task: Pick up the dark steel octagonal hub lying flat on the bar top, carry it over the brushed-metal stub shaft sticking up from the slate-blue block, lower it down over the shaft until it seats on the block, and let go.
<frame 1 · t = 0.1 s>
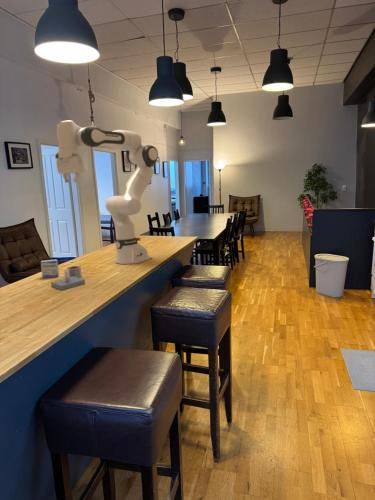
hand: (71, 182, 178), 48 cm above the table, tool pointing down, fingers open, 8 cm apart
shaft block: (68, 284, 167), on the table
medicine box: (51, 276, 184), on the table
hub: (74, 277, 180), on the table
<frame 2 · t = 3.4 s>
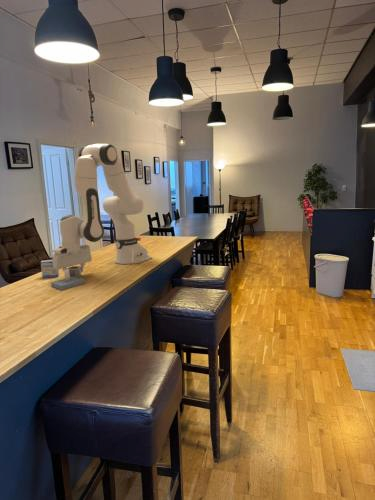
hand: (74, 273, 180), 2 cm above the table, tool pointing down, fingers closed on hub, 6 cm apart
hub: (74, 277, 180), on the table, touching gripper
everything else where it was.
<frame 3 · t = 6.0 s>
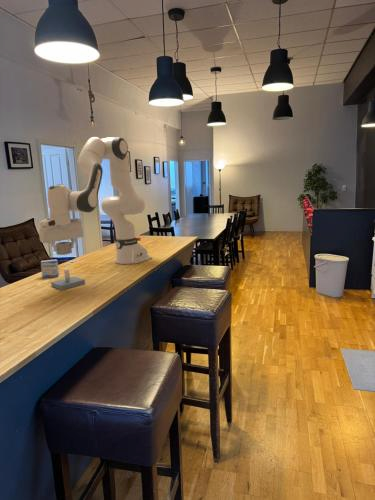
hand: (63, 249, 164), 17 cm above the table, tool pointing down, fingers closed on hub, 6 cm apart
hub: (64, 253, 164), point 16 cm above the table, touching gripper
everything else where it was.
when the fingers open (5 cm above the table, at t = 8.5 s): hub drops 1 cm, resting on shaft block.
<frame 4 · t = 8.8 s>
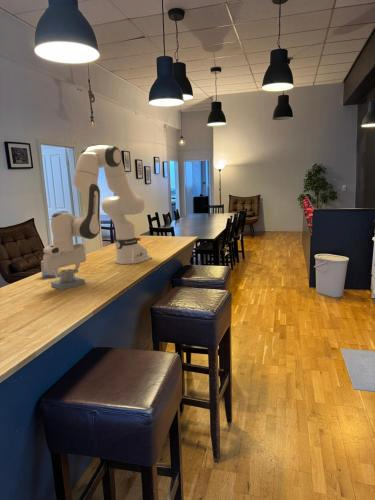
hand: (67, 274, 166), 5 cm above the table, tool pointing down, fingers open, 8 cm apart
hub: (67, 280, 167), point 2 cm above the table, touching shaft block
everything else where it was.
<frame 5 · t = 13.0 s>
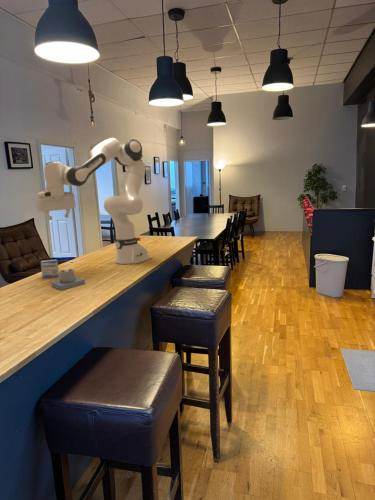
hand: (58, 218, 187), 29 cm above the table, tool pointing down, fingers open, 8 cm apart
nothing on the table moved.
at the end: hub 0.1 cm off-centre on the shaft block, point 2.0 cm above the shaft block's base; hub tilted 0°; the gripper is holding nothing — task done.
